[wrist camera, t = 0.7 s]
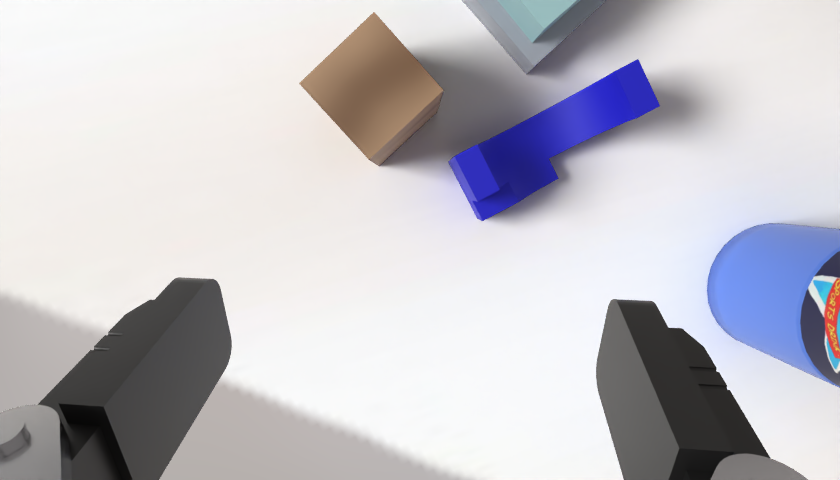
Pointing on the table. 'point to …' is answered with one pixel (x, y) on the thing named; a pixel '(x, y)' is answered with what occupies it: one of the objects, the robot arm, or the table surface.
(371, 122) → the walnut block
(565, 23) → the slate base slab
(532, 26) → the teal top slab
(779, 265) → the water bottle
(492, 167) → the cable clip
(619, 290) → the table surface
